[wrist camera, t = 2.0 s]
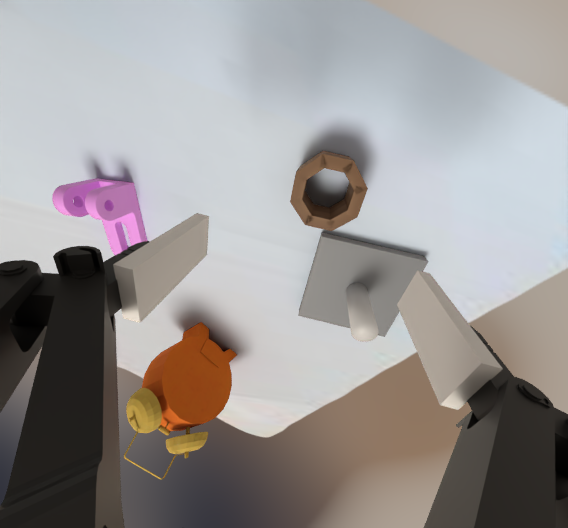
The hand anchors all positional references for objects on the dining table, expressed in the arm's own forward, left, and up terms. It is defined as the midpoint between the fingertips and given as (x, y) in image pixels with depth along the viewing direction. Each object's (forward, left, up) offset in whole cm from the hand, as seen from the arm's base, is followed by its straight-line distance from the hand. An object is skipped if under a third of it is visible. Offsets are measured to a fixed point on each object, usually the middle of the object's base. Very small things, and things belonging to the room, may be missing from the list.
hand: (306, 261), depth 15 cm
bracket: (+10, -27, -18) cm, 34 cm away
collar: (-2, +1, -17) cm, 17 cm away
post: (+11, +9, -17) cm, 23 cm away
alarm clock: (+32, -13, -18) cm, 39 cm away
